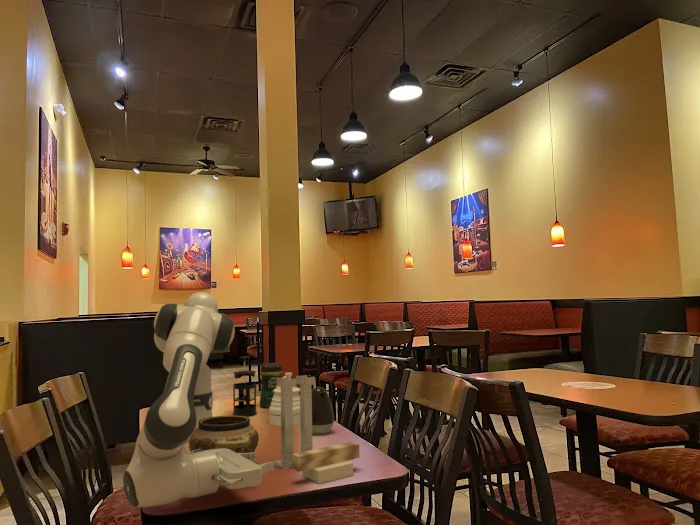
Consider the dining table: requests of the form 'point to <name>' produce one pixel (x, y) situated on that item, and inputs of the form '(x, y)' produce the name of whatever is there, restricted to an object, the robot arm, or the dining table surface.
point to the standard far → (305, 411)
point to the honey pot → (276, 405)
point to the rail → (325, 456)
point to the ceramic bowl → (225, 434)
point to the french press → (244, 408)
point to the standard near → (286, 422)
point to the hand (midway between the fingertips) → (263, 460)
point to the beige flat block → (329, 472)
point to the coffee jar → (269, 382)
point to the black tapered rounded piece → (321, 411)
